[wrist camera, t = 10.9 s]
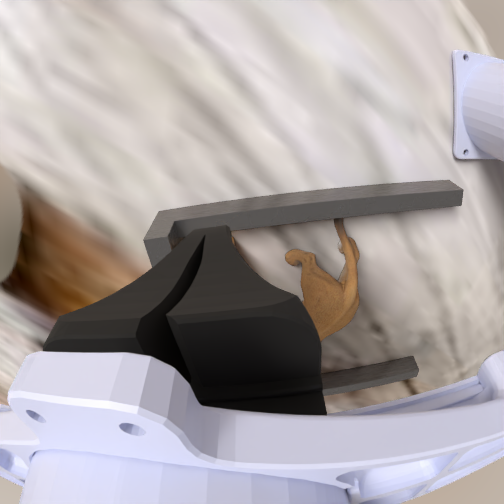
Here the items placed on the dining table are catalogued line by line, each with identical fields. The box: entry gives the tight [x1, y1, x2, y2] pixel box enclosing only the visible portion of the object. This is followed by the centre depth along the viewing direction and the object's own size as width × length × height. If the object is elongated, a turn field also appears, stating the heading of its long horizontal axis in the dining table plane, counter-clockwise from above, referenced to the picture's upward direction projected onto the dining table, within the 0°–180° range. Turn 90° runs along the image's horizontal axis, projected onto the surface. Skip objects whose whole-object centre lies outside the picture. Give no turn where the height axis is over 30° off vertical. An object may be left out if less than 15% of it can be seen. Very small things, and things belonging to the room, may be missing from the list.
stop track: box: [143, 180, 463, 396], centre depth 24 cm, size 21×20×4 cm
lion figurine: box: [285, 218, 359, 342], centre depth 21 cm, size 15×5×9 cm, turn 162°
